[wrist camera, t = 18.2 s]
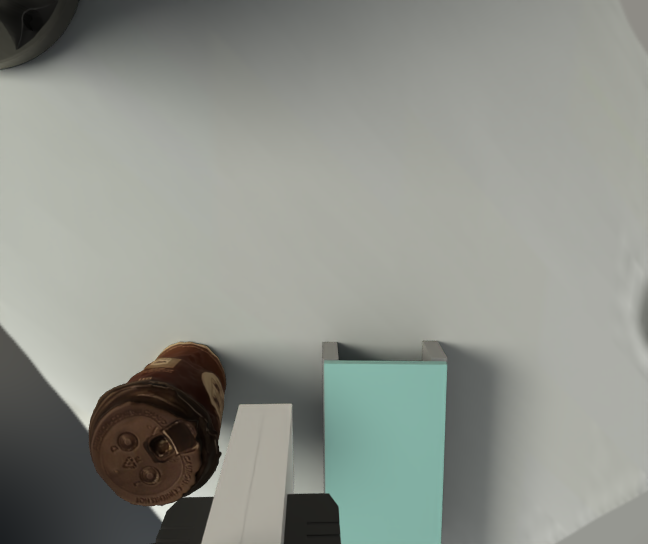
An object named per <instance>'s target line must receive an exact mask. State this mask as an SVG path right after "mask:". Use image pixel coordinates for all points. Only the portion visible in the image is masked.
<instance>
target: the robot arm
mask: <svg viewBox="0 0 648 544" xmlns="http://www.w3.org/2000/svg"><path fill="white" fill-rule="evenodd" d="M78 2H79V0H0V69H4V68H9V67H13V66H17V65H20V64H23V63H25V62H28V61H30V60H32V59H34V58H35V57H37V56H39V55H40V54H42V53H43V52H44V51H46V50H47V49H48V48H49V47H50V46H52V45H53V44H54V43H55V42H56V41H57V40H58V38H59V37H60V36H61V35H62V33H63V32H64V31H65V29H66V28H67V26H68V25H69V23H70V21H71V19H72V17H73V15H74V13H75V10H76V8H77V5H78ZM153 544H341V537H340V520H339V506H338V505H337V504H336V502H335V501H334V499H333V498H332V497H331V495H330V494H329V493H321V494H294V464H293V422H292V404H239V407H238V411H237V415H236V418H235V422H234V426H233V429H232V433H231V437H230V440H229V444H228V448H227V451H226V455H225V459H224V462H223V466H222V470H221V473H220V477H219V481H218V484H217V488H216V491H215V495H214V497H185V498H180V499H179V500H178V501H177V502H176V503H175V504H174V505H173V506H172V507H171V508H170V509H169V510H168V511H167V512H166V515H165V517H164V520H163V522H162V525H161V530H159V533H158V535H157V538H156V543H153Z"/></svg>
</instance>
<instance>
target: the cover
mask: <svg viewBox="0 0 648 544" xmlns="http://www.w3.org/2000/svg"><path fill="white" fill-rule="evenodd" d="M446 384H447V363H446V361H342V360H324V409H325V493H329V494H330V495H331V497H332V498H333V499H334V501H335V502H336V504H337V505H338V506H339V520H340V537H341V544H441V528H442V499H443V470H444V441H445V413H446Z"/></svg>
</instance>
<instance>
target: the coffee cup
mask: <svg viewBox="0 0 648 544" xmlns="http://www.w3.org/2000/svg"><path fill="white" fill-rule="evenodd" d="M225 389H226V377H225V372H224V369H223V367H222V365H221V363H220V360H219V358H218V357H217V356H216V355H215V354H214V353H213V352H212V351H211V350H210V349H209V348H208V347H207V346H205V345H202V344H195V343H193V342H185V343H184V342H178V343H176V344H172V345H170V346H168V347H167V348H166V349H164V350H163V352H162V353H161V354H160V355H159V356H158V357H157V359H156V360H155V361H154V362H152V363H150V364H148V365H147V366H146V367H145V368H144V370H143V371H141V372H139V373H137V374H136V375H134V376H133V377H132V378H131V379H130V380H129V381H128V382H127V383H126V384H122V385H119V386H117V387H114V388H112V389H111V390H109V391H107V392H106V393H105V394H103V395H102V396H101V397H100V399H99V400H98V403H97V405H96V407H95V409H94V411H93V414H92V416H91V419H90V424H89V448H90V454H91V457H92V461H93V463H94V466H95V468H96V471H97V473H98V474H99V475H100V476H101V478H102V479H103V480H104V481H105V482H106V483H107V484H108V486H109V487H110V488H111V489H112V490H113V491H114V492H115V493H116V494H117V495H118V496H119V497H120V498H122V499H124V500H125V501H128V502H130V503H131V504H134V505H142V506H155V505H161V506H163V505H165V504H169V503H173V502H175V501H178V500H179V499H180V498H182V497H185V496H188V495H190V494H191V493H193V492H194V491H196V490H198V489H199V488H201V487H202V486H203V485H204V484H205V483H206V482H207V481H208V480H209V479H210V477H211V476H212V475H213V473H214V472H215V471H216V468H217V466H218V464H219V458H220V456H221V454H222V453H221V452H219V446H218V439H219V435H220V428H221V421H222V415H223V409H224V394H225Z"/></svg>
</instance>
